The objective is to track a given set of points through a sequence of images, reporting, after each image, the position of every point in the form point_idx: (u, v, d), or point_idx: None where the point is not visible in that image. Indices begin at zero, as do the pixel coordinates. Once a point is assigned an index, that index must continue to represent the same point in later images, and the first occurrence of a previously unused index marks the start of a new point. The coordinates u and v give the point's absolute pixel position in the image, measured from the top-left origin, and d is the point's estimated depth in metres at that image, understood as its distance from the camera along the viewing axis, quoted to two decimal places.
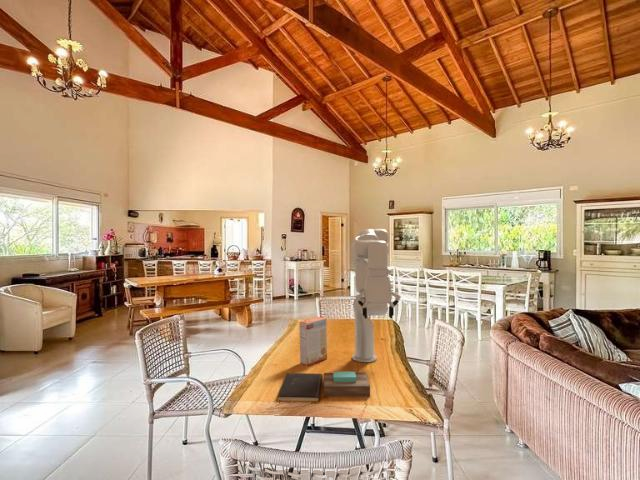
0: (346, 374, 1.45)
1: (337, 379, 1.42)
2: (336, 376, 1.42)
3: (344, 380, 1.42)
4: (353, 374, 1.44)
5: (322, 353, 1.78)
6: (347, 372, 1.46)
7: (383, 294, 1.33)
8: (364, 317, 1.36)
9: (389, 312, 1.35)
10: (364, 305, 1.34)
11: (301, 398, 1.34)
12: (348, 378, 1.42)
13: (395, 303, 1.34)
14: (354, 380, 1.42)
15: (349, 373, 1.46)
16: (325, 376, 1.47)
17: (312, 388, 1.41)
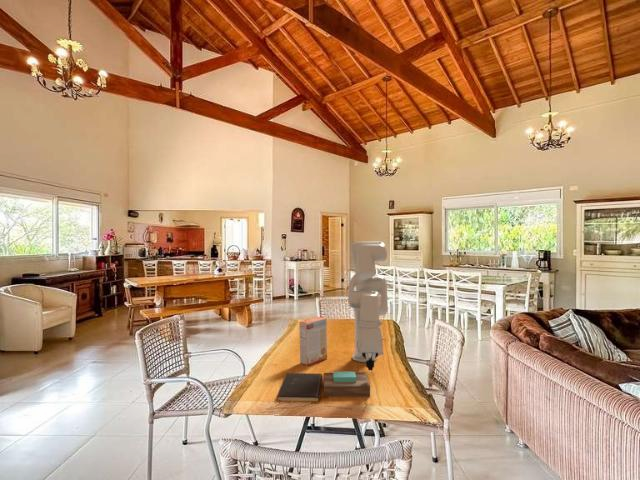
0: (346, 374, 1.45)
1: (337, 379, 1.42)
2: (336, 376, 1.42)
3: (344, 380, 1.42)
4: (353, 374, 1.44)
5: (322, 353, 1.78)
6: (347, 372, 1.46)
7: (375, 344, 1.42)
8: (368, 368, 1.44)
9: None
10: (368, 357, 1.43)
11: (301, 398, 1.34)
12: (348, 378, 1.42)
13: (375, 356, 1.43)
14: (354, 380, 1.42)
15: (349, 373, 1.46)
16: (325, 376, 1.47)
17: (312, 388, 1.41)
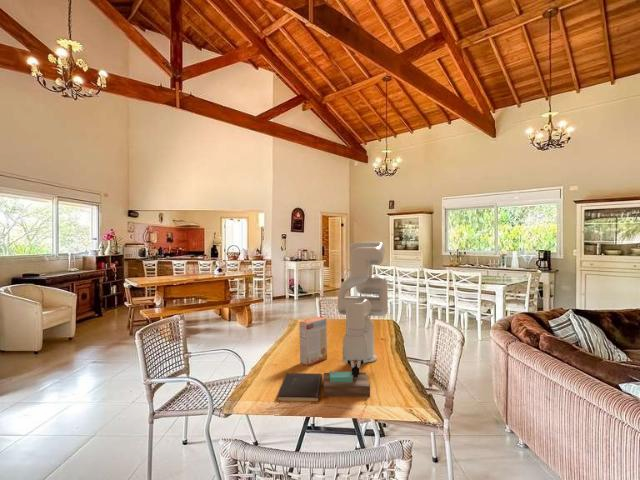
0: (343, 374, 1.45)
1: (333, 379, 1.41)
2: (333, 377, 1.42)
3: (340, 380, 1.41)
4: (349, 374, 1.44)
5: (322, 353, 1.78)
6: (343, 372, 1.46)
7: (360, 352, 1.42)
8: (353, 375, 1.45)
9: None
10: (353, 365, 1.43)
11: (301, 398, 1.34)
12: (344, 378, 1.41)
13: (361, 363, 1.44)
14: (350, 380, 1.41)
15: (346, 373, 1.45)
16: (325, 376, 1.47)
17: (312, 388, 1.41)
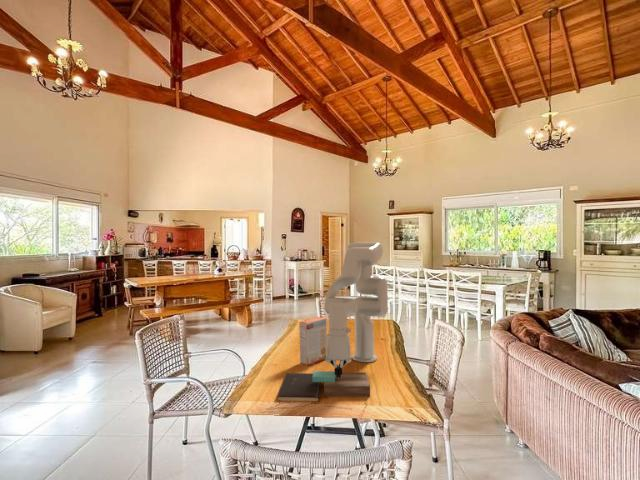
0: (326, 373, 1.45)
1: (315, 379, 1.42)
2: (315, 376, 1.42)
3: (323, 380, 1.42)
4: (332, 374, 1.44)
5: (322, 353, 1.78)
6: (327, 372, 1.47)
7: (342, 352, 1.42)
8: (336, 375, 1.45)
9: (338, 371, 1.45)
10: (336, 365, 1.43)
11: (301, 398, 1.34)
12: (327, 378, 1.42)
13: (343, 363, 1.44)
14: (333, 380, 1.42)
15: (329, 373, 1.46)
16: None
17: (312, 388, 1.41)
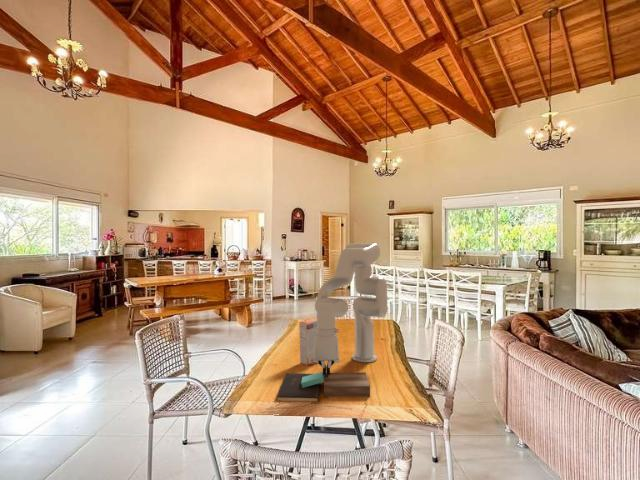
0: (314, 376, 1.45)
1: (304, 384, 1.42)
2: (304, 381, 1.42)
3: (312, 383, 1.42)
4: (320, 375, 1.45)
5: None
6: (315, 374, 1.47)
7: (330, 352, 1.42)
8: (324, 376, 1.45)
9: (326, 371, 1.45)
10: (324, 365, 1.43)
11: (300, 398, 1.34)
12: (315, 380, 1.42)
13: (331, 363, 1.44)
14: (321, 380, 1.42)
15: (317, 374, 1.46)
16: None
17: (311, 389, 1.41)
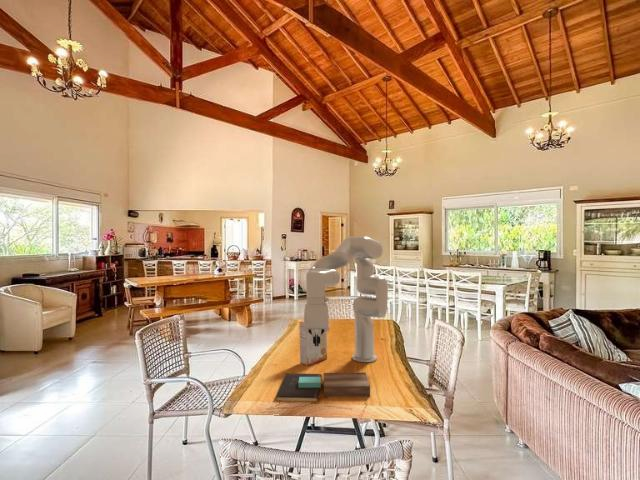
0: (312, 379, 1.46)
1: (301, 385, 1.42)
2: (301, 382, 1.43)
3: (309, 385, 1.42)
4: (318, 379, 1.45)
5: (322, 353, 1.78)
6: (313, 377, 1.47)
7: (320, 321, 1.42)
8: None
9: (316, 340, 1.45)
10: (314, 334, 1.43)
11: (299, 398, 1.34)
12: (312, 383, 1.42)
13: (321, 332, 1.44)
14: (318, 385, 1.42)
15: (315, 378, 1.46)
16: (325, 376, 1.47)
17: (311, 388, 1.41)
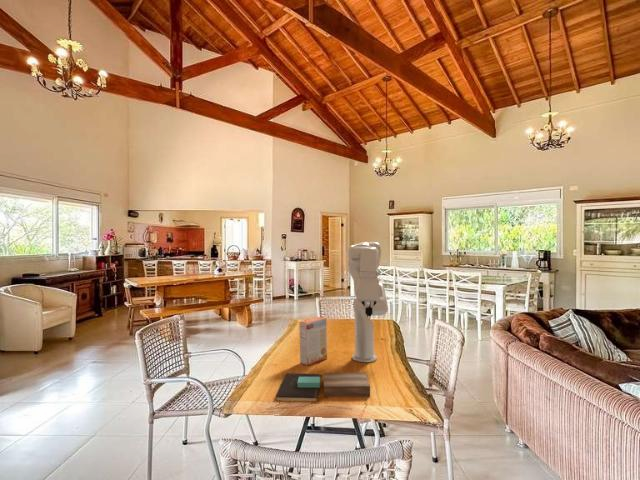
0: (311, 379, 1.46)
1: (300, 384, 1.43)
2: (300, 382, 1.43)
3: (308, 385, 1.42)
4: (317, 379, 1.45)
5: (322, 353, 1.78)
6: (312, 377, 1.47)
7: (373, 293, 1.56)
8: (367, 315, 1.59)
9: None
10: (367, 305, 1.57)
11: (299, 398, 1.34)
12: (311, 383, 1.42)
13: (374, 303, 1.57)
14: (317, 385, 1.42)
15: (314, 378, 1.46)
16: (325, 376, 1.47)
17: (310, 389, 1.41)
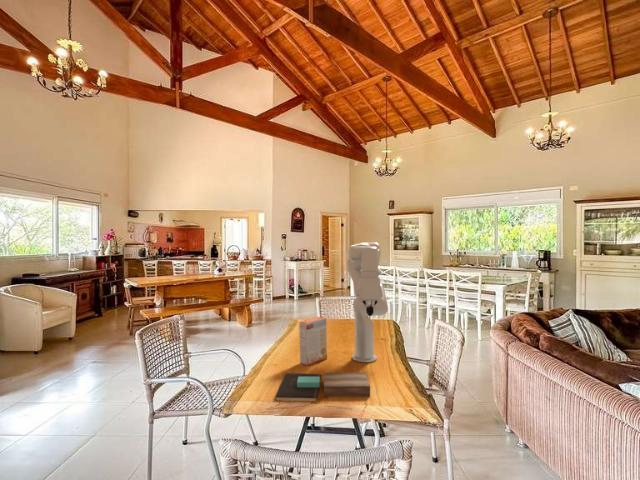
0: (311, 379, 1.46)
1: (300, 384, 1.43)
2: (300, 382, 1.43)
3: (307, 385, 1.43)
4: (317, 379, 1.45)
5: (322, 353, 1.78)
6: (312, 377, 1.47)
7: (374, 292, 1.56)
8: (368, 315, 1.59)
9: None
10: (368, 304, 1.57)
11: (299, 398, 1.34)
12: (311, 383, 1.42)
13: (375, 303, 1.57)
14: (317, 385, 1.42)
15: (314, 378, 1.47)
16: (325, 376, 1.47)
17: (310, 389, 1.41)
